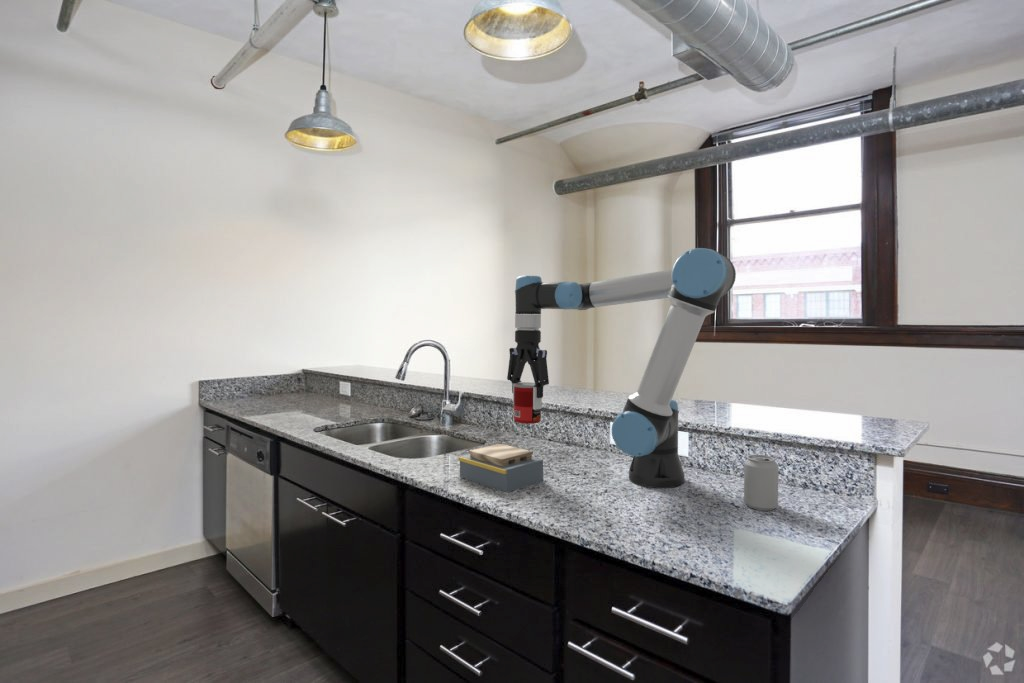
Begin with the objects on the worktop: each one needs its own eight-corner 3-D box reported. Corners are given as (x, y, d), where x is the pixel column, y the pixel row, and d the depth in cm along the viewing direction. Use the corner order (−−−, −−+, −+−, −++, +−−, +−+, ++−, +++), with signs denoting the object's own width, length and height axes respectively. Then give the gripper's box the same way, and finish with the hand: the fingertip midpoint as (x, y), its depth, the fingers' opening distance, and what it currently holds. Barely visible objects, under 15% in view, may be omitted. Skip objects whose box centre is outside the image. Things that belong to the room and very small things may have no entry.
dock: (543, 480, 150) (543, 459, 150) (505, 492, 140) (504, 470, 140) (495, 467, 164) (495, 448, 164) (458, 477, 154) (458, 456, 154)
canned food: (538, 424, 152) (538, 386, 151) (510, 422, 154) (511, 385, 153) (542, 419, 159) (543, 382, 159) (516, 418, 161) (517, 381, 160)
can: (776, 514, 123) (776, 462, 122) (741, 508, 127) (741, 458, 126) (779, 504, 129) (780, 455, 129) (746, 499, 133) (746, 451, 133)
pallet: (532, 458, 151) (532, 451, 151) (501, 466, 143) (501, 459, 143) (499, 450, 161) (499, 443, 161) (468, 457, 153) (468, 450, 153)
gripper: (562, 330, 150) (561, 410, 151) (514, 328, 165) (513, 401, 166) (543, 330, 145) (542, 413, 146) (495, 328, 160) (494, 403, 161)
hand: (527, 406), depth 156 cm, fingers closed on canned food, 8 cm apart
